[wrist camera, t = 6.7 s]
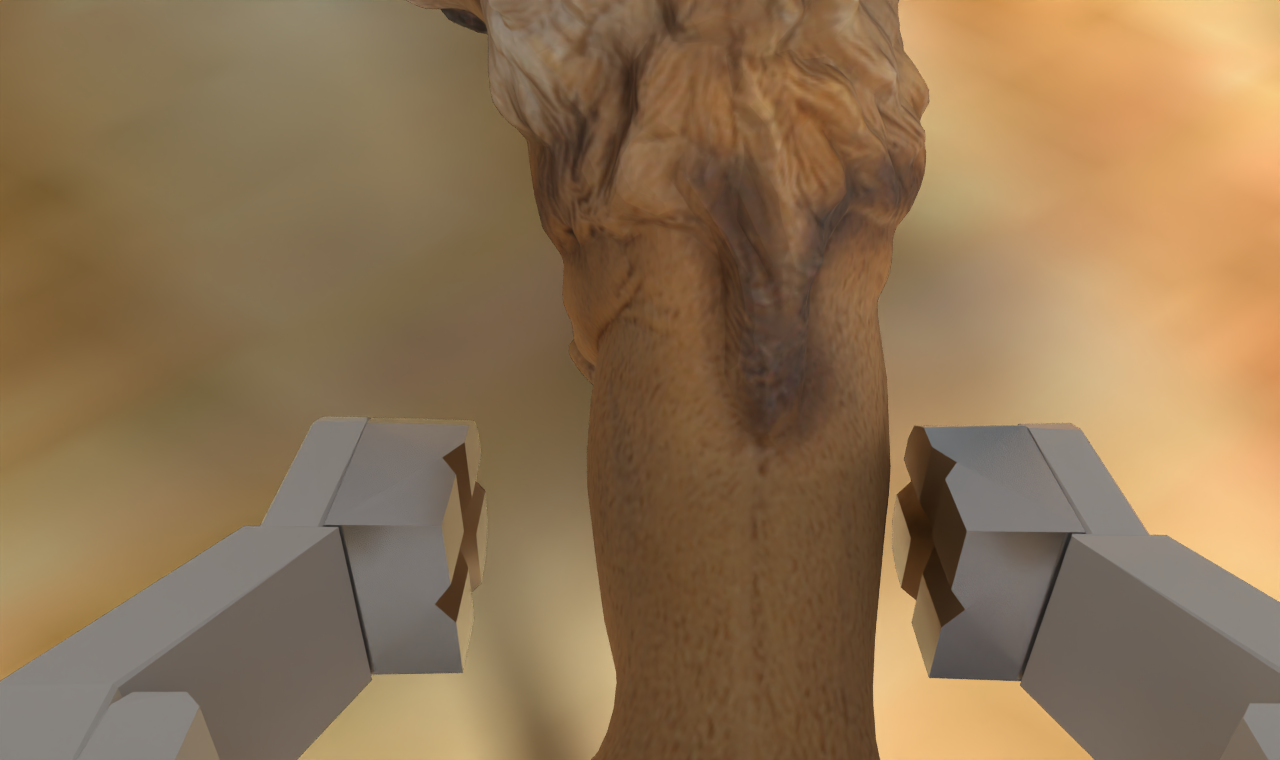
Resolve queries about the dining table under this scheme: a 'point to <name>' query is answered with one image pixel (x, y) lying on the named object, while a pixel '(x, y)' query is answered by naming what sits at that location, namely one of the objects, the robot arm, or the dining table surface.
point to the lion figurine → (725, 342)
